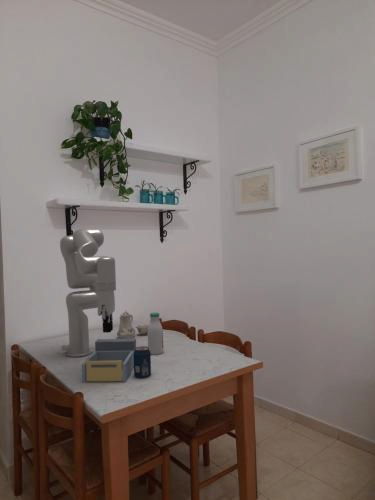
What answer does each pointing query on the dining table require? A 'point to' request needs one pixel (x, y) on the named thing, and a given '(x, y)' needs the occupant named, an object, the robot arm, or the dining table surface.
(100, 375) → the panel
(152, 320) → the milk bottle
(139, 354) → the soda can
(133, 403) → the dining table surface
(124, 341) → the truck bed
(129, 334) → the chinaware
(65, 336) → the dining table surface
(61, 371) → the dining table surface
